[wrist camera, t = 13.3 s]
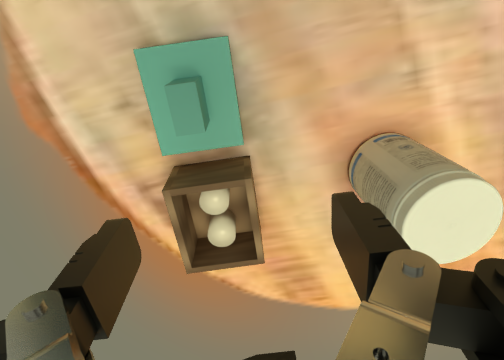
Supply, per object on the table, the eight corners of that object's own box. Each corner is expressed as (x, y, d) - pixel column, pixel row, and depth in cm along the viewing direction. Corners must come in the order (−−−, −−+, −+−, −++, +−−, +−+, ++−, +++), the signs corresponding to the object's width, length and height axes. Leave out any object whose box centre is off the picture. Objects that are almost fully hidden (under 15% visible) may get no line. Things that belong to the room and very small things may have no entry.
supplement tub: (377, 207, 43) (439, 282, 30) (331, 170, 41) (377, 235, 27) (432, 158, 40) (527, 217, 27) (386, 114, 38) (467, 156, 24)
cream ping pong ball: (200, 177, 39) (196, 191, 36) (227, 173, 39) (225, 186, 36) (206, 201, 41) (202, 216, 37) (232, 197, 41) (231, 212, 37)
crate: (174, 166, 39) (161, 191, 33) (249, 155, 39) (251, 178, 33) (194, 240, 44) (186, 273, 38) (261, 231, 44) (264, 263, 38)
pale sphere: (207, 209, 41) (204, 226, 38) (233, 206, 41) (233, 222, 38) (212, 231, 43) (210, 248, 39) (237, 227, 43) (237, 245, 39)
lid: (139, 49, 33) (115, 51, 27) (228, 36, 33) (225, 35, 27) (166, 149, 39) (151, 172, 32) (243, 139, 38) (244, 159, 32)
